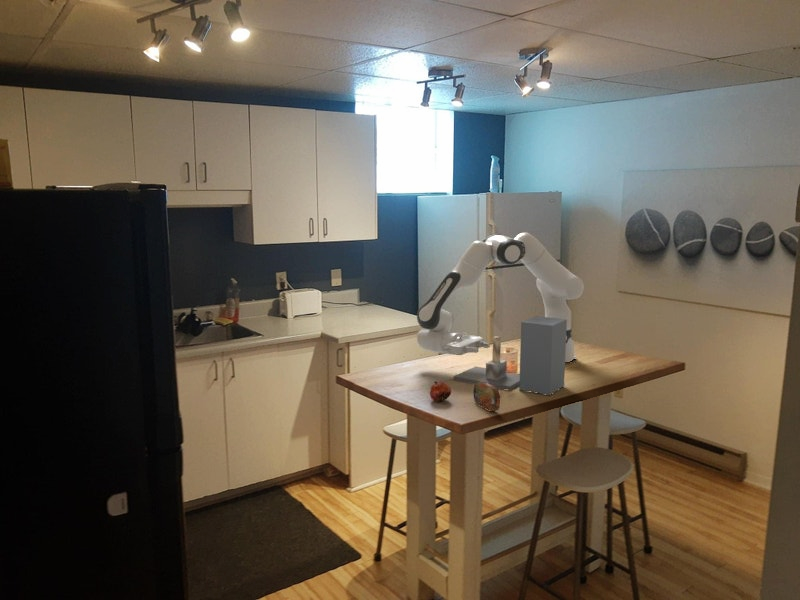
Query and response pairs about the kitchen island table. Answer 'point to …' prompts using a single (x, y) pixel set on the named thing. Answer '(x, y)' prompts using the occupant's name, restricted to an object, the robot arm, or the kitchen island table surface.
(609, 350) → the kitchen island table surface
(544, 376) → the stand
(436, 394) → the pomegranate
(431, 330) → the robot arm
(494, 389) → the tin
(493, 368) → the mallet
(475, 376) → the board
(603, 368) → the kitchen island table surface
